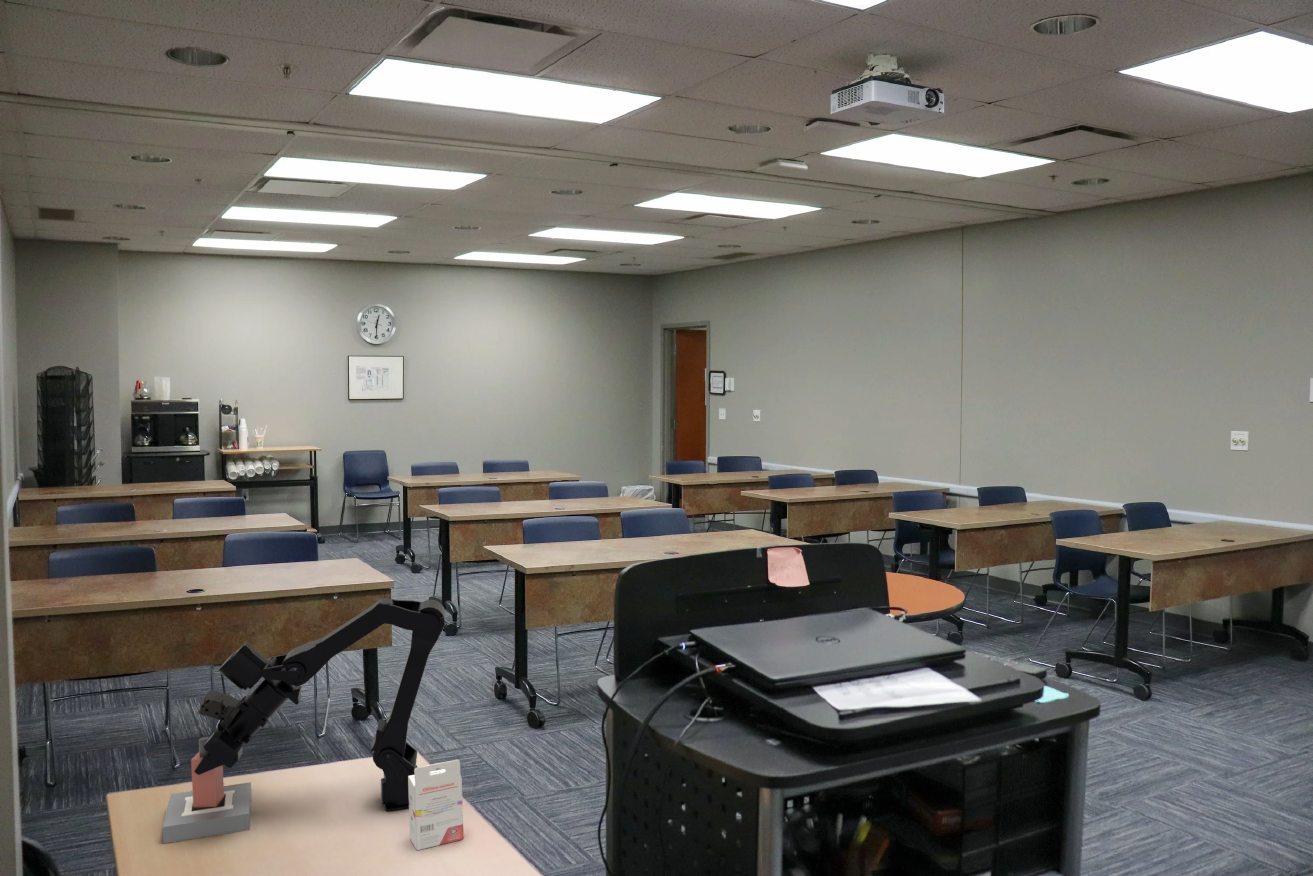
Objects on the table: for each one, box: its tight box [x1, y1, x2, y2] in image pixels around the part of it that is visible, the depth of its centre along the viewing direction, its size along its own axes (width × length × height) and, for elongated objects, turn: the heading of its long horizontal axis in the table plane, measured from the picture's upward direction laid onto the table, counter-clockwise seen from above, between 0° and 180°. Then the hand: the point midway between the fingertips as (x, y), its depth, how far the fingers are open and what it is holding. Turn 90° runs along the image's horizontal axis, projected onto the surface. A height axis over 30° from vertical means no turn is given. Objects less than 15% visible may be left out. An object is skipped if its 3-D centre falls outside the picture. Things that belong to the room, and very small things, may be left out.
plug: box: [190, 736, 225, 808], centre depth 179 cm, size 4×4×12 cm
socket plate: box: [162, 782, 252, 845], centre depth 179 cm, size 14×14×3 cm
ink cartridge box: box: [408, 759, 464, 851], centre depth 171 cm, size 9×5×15 cm, turn 118°
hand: (199, 767), depth 178 cm, fingers closed on plug, 4 cm apart
